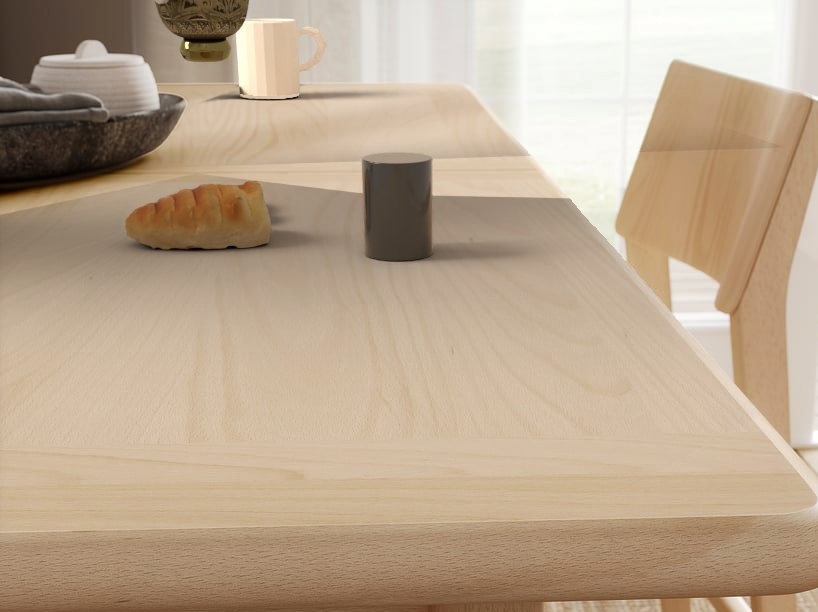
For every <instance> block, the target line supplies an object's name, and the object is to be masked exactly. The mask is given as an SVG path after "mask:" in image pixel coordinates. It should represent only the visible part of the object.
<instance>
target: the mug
mask: <svg viewBox="0 0 818 612" xmlns="http://www.w3.org/2000/svg"><path fill="white" fill-rule="evenodd" d="M303 35H308V36H310V37H311V36H312V37H314V39H315V41H316V42H317V44H318V45H317V48H316V51H315V53H314V55H313V58H311V59H309V60H308V61H307V62H305V63H302V64H300V62H299V59H300V58H299V41H298V40H299V39H298V37H300V36H303ZM235 40H236V54H237V55H236V56H237V59H236V60H237V69H238V86H239V95H240V94H243V95H253V96H279V95H292V94H298V93H300V94H301V83H300V82H301V81H300V80H301V79H300V73H302V72H306V71H309V70H310V69H311V68H313V67H315V66H317V65H319V63H320V62H321V60H322V56H323V54H324V51H325V50H326V47H327V45H328V43H327V41H326V39H325V37H324V36H323V34H322V33H321V31H320V30H319V29H317V28H315V27H312V26H304V27H301V28H298V21H297V20H296V19H293V18H246V19H245V22H244V24H243V25H242V27H241V28H240V30H238V31H237V32H236V33H235Z"/></svg>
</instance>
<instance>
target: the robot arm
mask: <svg viewBox="0 0 818 612" xmlns="http://www.w3.org/2000/svg"><path fill="white" fill-rule="evenodd" d="M153 1H154V3H155V2H156V3H158V4H166V3H175V2H176V0H153ZM156 3H155V4H156Z"/></svg>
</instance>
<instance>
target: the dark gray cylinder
mask: <svg viewBox="0 0 818 612" xmlns="http://www.w3.org/2000/svg"><path fill="white" fill-rule="evenodd" d="M433 174H434V173H433V157H432V156H431V155H429V154H424V153H418V152H417V153H416V152H397V151H396V152H380V153H372V154H367V155H365V156H362V157H361V176H362V177H361V181H362V182H361V183H362V184H361V185H362V213H363V215H362V217H363V251H364V255H365V256H366V257H368V258H371V259H375V260H380V261H387V262H389V261H392V262H403V261H406V262H407V261H416V260H422V259H424V258H429V257H430V256H432V255H433V254H434V205H433V204H434V200H433V199H434V197H433V195H434V192H433V191H434V187H433V186H434V185H433V181H434V180H433V179H434V178H433Z"/></svg>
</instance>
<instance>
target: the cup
mask: <svg viewBox="0 0 818 612" xmlns="http://www.w3.org/2000/svg"><path fill="white" fill-rule="evenodd" d="M154 3H155V7H156V10H157V13H158V16H159V18H160V21H161V22H162V24H163V25H164V27H165V28H166V29H167V30H168V31H169V32H171V33H172V34H173V35H175V36H177V37H179V38H182V39H181V42H180V44H179V49H178V50H179V52H180V54H181V57H182V58H183V59H184V60H186V61H188V62H191V63H193V62H194V63H218V62H224V61H226V60H228V59H229V58H230V57H231V54H232V51H233V48H232V45H231V42H230V41H229V39H228V38H229V37H231V36H234V35H236V32H237V31H238V30H240V28H241V27H242V25H243V24H244V22H245V19H247V15H248V12H249V5H250V0H176V2H175V3H166V4H158V3H156V2H155V1H154Z"/></svg>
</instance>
